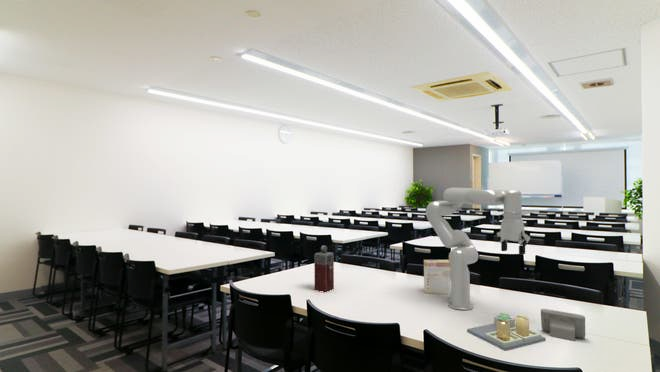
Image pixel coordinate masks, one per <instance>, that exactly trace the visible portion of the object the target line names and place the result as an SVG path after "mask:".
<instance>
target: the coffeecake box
mask: <svg viewBox="0 0 660 372" xmlns="http://www.w3.org/2000/svg"><path fill="white" fill-rule="evenodd" d="M423 286H424V287H423V290H424V293H425V294H427V295H429V294H432V295H433V294H434V295H435V294H437V295H439V294H440V295H450V294H451V267H450V262H449V259H423Z"/></svg>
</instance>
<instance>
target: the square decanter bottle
mask: <svg viewBox="0 0 660 372" xmlns="http://www.w3.org/2000/svg"><path fill="white" fill-rule="evenodd" d="M334 255H335V254H334V252H330V251H328V246H327V245H321V247H320V252H316V253H314V256H313V257H314V260H313V261H314V291H315V290H318V291H317V292H320V291H323V292H322V293H325V292H327V291H329V292H331V291H333V290H335V289H334V287H335V286H334V285H335V281H334V280H335V279H334V278H335V277H334V274H335V273H334V267H335V266H334V264H335V262H334V257H335V256H334ZM332 289H333V290H332ZM330 290H331V291H330ZM327 293H328V292H327Z"/></svg>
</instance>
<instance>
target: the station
mask: <svg viewBox="0 0 660 372" xmlns="http://www.w3.org/2000/svg"><path fill="white" fill-rule="evenodd" d="M498 319H501V318H499V315H494V316H493V323H489V324H486V325H485V324H484V325H481V326H475V327H471V328H467V329H466V332H467V333H469V334H471V335H473V336H475V337H477V338H479V339H481V340H483V341H485V342H487V343H488V344H491V345H493V346H495V347H497V346H498V347H497V348H499V349H501V350H503V349H504V350H503V351H505V350H506V351H509V350H514V349H517V348H522V347H526V346H530V345H533V344H538V343H541V342H545V341H546V337H545V336H542V334H541V333H539V332H536V331H534V330H532V329H530V318H529V317H528V316H525V315H515V318H513V317H511V316H509V319H508V320H507V321H509V322H510V340H509V341H502V340H500V339H498V338H497V331H496V320H498Z"/></svg>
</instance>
